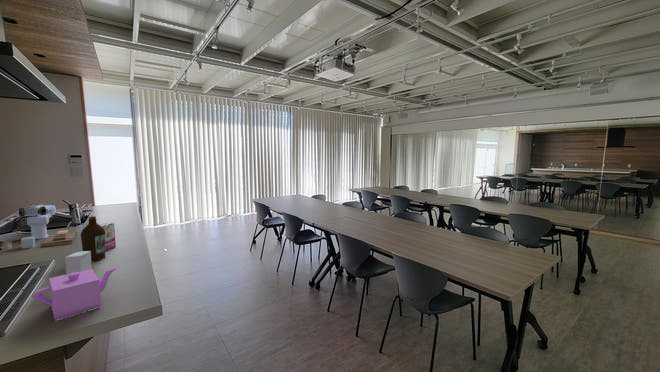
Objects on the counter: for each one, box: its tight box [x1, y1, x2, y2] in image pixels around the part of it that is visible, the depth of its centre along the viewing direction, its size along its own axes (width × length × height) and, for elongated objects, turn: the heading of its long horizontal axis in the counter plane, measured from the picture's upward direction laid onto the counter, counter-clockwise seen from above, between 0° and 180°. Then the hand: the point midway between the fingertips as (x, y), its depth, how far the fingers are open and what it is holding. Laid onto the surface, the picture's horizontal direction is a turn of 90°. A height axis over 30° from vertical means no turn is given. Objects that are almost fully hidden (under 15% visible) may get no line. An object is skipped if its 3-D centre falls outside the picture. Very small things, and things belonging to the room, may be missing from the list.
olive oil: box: [80, 215, 107, 263], centre depth 155 cm, size 11×11×25 cm
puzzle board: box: [41, 229, 78, 248], centre depth 188 cm, size 24×14×4 cm, turn 37°
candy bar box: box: [99, 222, 117, 251], centre depth 171 cm, size 11×5×16 cm, turn 179°
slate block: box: [20, 236, 36, 250], centre depth 174 cm, size 5×5×6 cm
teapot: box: [31, 267, 118, 320], centre depth 108 cm, size 15×25×14 cm, turn 139°
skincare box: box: [64, 250, 93, 275], centre depth 126 cm, size 8×6×15 cm
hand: (29, 212), depth 175 cm, fingers open, 7 cm apart
